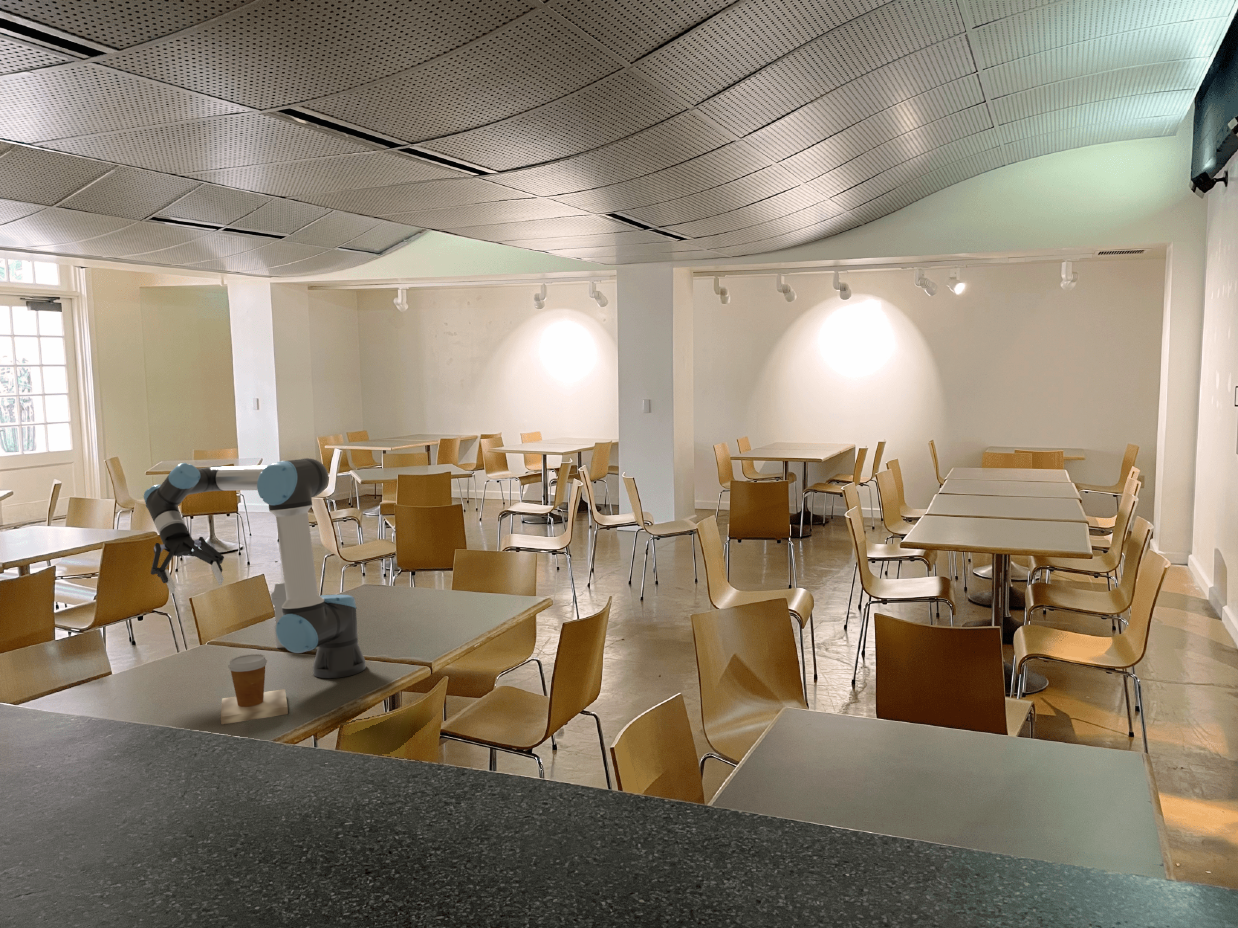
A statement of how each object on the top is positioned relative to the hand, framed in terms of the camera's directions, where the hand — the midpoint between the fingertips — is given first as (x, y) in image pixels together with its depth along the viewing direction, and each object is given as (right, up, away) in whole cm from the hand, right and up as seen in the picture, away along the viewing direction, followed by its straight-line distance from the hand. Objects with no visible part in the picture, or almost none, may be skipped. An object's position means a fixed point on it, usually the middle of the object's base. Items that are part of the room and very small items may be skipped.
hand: (197, 586), depth 262 cm
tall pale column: (+11, -26, +44) cm, 53 cm away
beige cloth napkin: (+24, -30, -18) cm, 43 cm away
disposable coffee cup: (+23, -29, -19) cm, 41 cm away
